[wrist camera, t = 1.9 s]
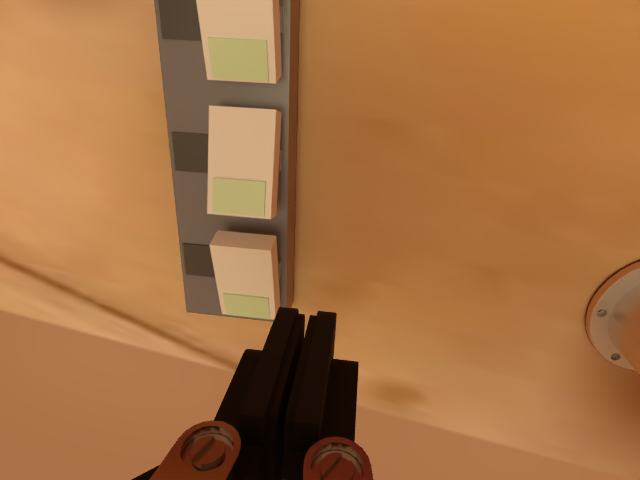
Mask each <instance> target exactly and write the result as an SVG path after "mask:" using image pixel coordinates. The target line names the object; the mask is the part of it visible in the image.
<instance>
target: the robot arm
mask: <svg viewBox="0 0 640 480" xmlns="http://www.w3.org/2000/svg"><path fill="white" fill-rule="evenodd" d="M304 328H305V315H304V314H298V309H295V308H286V307H279V309H278V311H277V314H276V316H275V319H274V322H273V324H272V327H271V329H270V332H269V335H268V337H267V340H266V343H265V345H264V348H263V350H262V351H261V350H253V349H246V350H245V352H244V353H243V356H242V358H241V360H240V362H239V365H238V367H237V369H236V371H235V374H234V376H233V378H232V381H231V383H230V385H229V388H228V390H227V392H226V394H225V396H224V399H223V401H222V403H221V406H220V408H219V410H218V412H217V415H216V417H215V419H214V420H213V421H205V422H201V423H199V424H196V425H194V426H192V427H191V428H189V429H188V430H186V431H185V432H184V433H183V434H182V435H181V436H180V437H179V438H178V440H177V441H176V443H175V444H174V446H173V447H172V448H171V450H170V451H169V453H168V454H167V456H166V457H165V458H164V460H163V461H162V462H161V464H160V465H159V466H157V467H155V468H153V469H151V470H149V471H147V472H145V473H143V474H142V475H140V476H138V477H136V478H134V479H132V480H373V474H372V468H371V464H370V461H369V457H368V455H367V454H366V453H365V451H364V450H363V448H362V447H360V446H359V445H358V444H356V443H355V442H354V439H355V420H356V401H357V382H358V362H355V361H347V360H338V359H333V356H334V342H335V329H336V313H332V312H323V311H318V313H317V316H313V315H310V318H309V322H308V326H307V330H306V334H305V338H304ZM586 331H587V334H588V337H589V340H590V341H591V343H592V344H593V346H594V347H595V349H596V350H597V351H598V352H599V353H600V354H601V356H602V357H604V358H605V359H606V360H607V361H609V362H610V363H612V364H614V365H617V366H619V367H621V368H624V369H628V370H632V371H637V373H638V374H639V375H640V261H639V262H636V263H634V264H632V265H630V266H628V267H626V268H624V269H622V270H621V271H619V272H618V273H616V274H615V275H614V276H612V277H611V278H610V279H608V280H607V281H606V282H605V283H604V284H603V285H602V286H601V288H600V289H599V290H598V291H597V293H596V294H595V296H594V297H593V299H592V300H591V303H590V305H589V307H588V310H587V315H586Z"/></svg>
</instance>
